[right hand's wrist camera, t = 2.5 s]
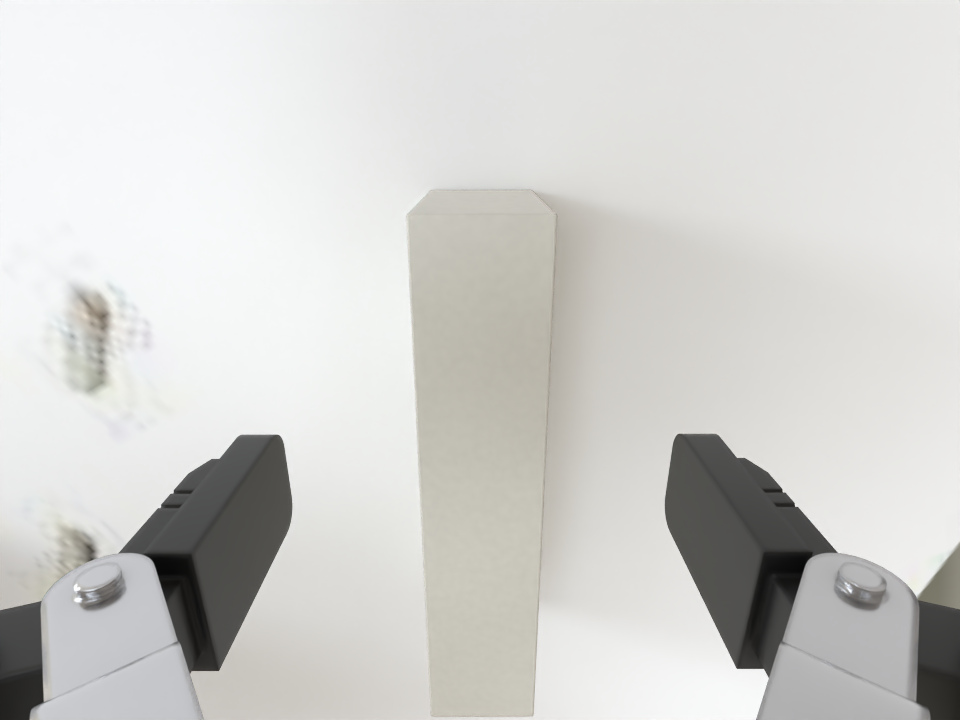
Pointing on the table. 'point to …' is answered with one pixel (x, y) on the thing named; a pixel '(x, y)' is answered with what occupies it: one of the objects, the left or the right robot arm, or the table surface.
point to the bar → (481, 438)
